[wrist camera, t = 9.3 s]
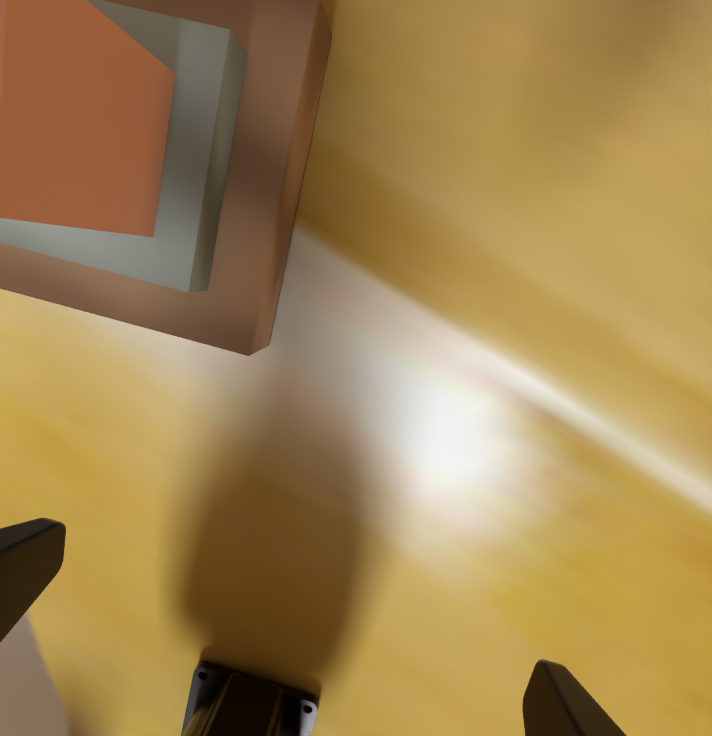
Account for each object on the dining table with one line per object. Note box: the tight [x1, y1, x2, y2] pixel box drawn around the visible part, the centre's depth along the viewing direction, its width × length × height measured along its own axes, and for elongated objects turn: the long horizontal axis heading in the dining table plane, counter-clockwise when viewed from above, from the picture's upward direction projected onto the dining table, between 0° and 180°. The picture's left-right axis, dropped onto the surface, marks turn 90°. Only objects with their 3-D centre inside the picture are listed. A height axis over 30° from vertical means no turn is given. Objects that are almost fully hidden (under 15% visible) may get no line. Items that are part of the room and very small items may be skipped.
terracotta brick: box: [0, 0, 175, 237], centre depth 12 cm, size 5×5×6 cm
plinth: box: [0, 0, 332, 356], centre depth 17 cm, size 12×12×4 cm
